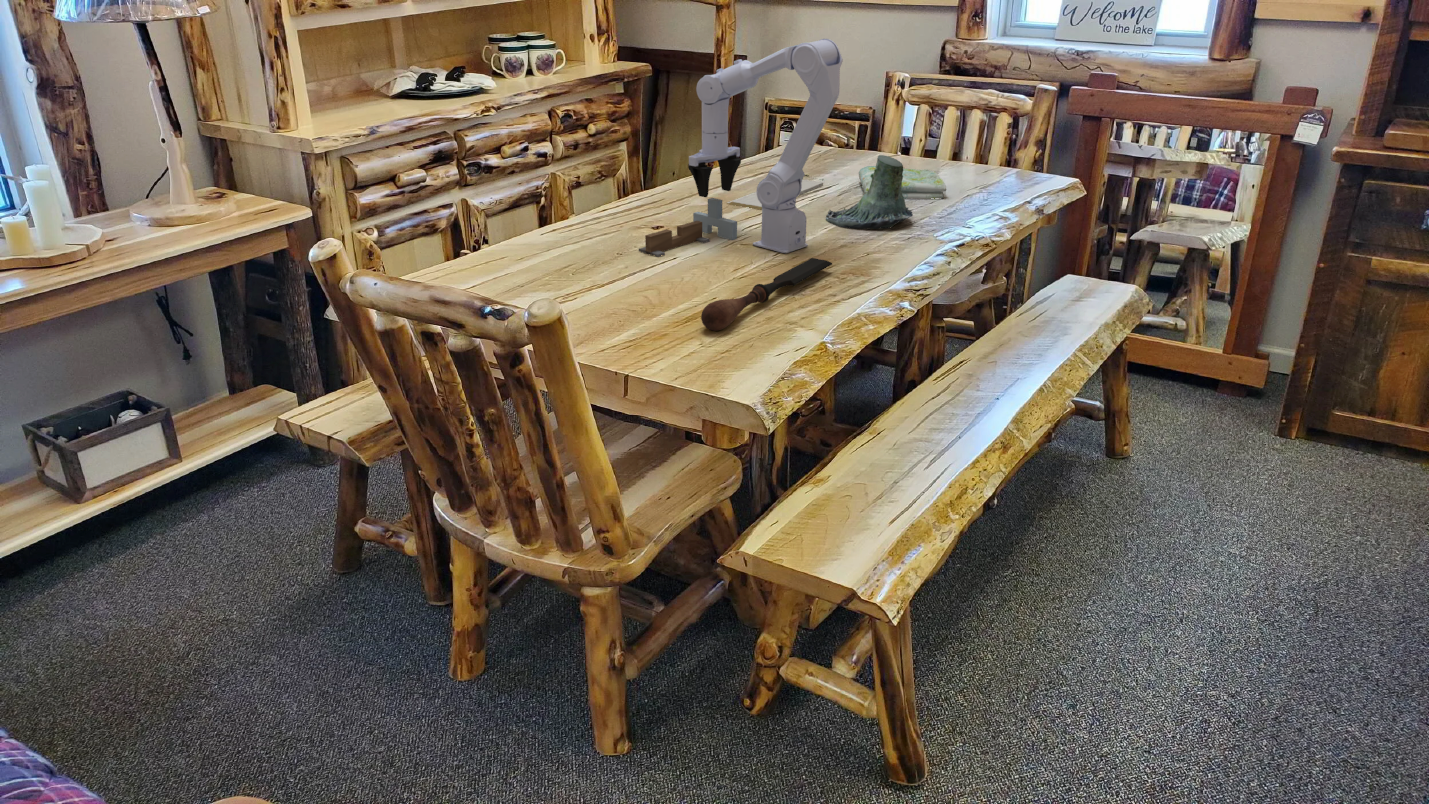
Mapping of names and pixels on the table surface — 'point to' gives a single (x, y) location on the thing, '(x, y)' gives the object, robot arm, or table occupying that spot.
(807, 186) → the baseboard molding
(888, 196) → the tree stump
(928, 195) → the towel
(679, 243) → the walnut slotted plate
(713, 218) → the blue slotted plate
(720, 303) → the chisel
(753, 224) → the table surface
